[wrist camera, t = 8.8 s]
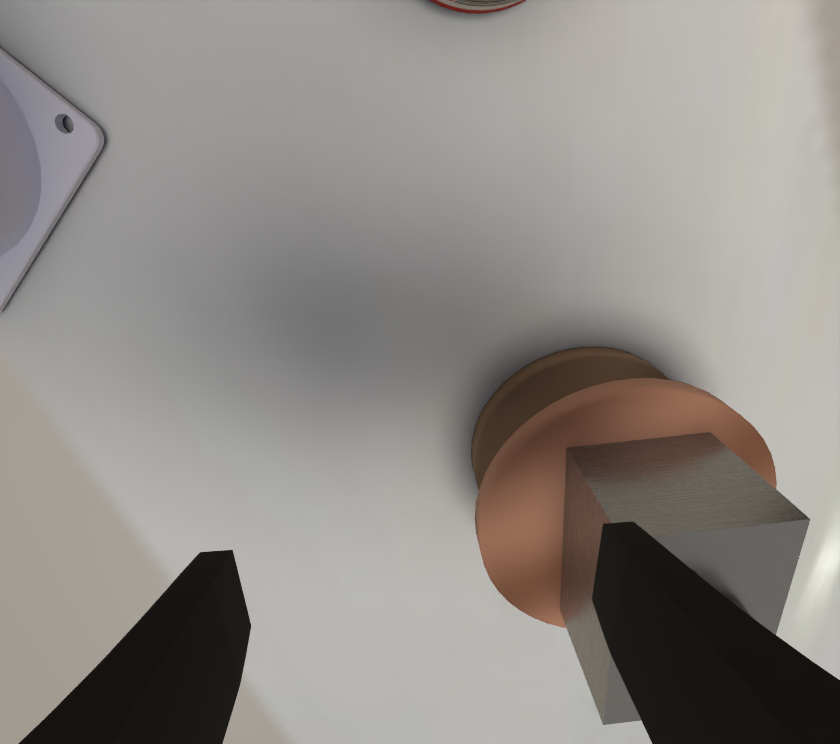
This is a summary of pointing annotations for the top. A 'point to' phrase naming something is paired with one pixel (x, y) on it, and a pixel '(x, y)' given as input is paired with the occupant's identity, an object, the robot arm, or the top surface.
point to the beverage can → (477, 5)
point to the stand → (571, 427)
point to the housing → (673, 536)
